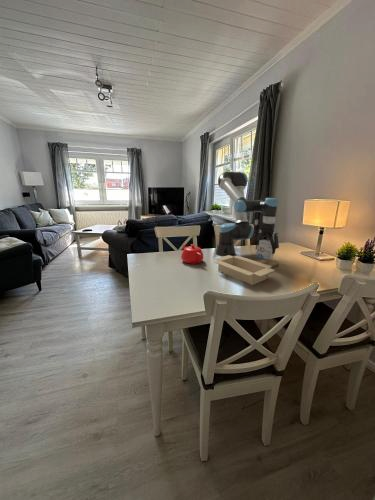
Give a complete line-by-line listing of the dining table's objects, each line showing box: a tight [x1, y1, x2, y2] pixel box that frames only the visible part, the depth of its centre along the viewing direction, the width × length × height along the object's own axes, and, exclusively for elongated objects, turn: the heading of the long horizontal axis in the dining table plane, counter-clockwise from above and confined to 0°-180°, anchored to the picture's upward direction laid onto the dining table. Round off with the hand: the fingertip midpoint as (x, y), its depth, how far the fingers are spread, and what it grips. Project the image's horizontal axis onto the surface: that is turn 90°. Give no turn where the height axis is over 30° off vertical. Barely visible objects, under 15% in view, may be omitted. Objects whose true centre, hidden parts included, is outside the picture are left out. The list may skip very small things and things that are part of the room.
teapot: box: [180, 243, 204, 265], centre depth 146 cm, size 25×16×12 cm, turn 31°
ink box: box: [256, 238, 272, 261], centre depth 140 cm, size 9×5×12 cm, turn 62°
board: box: [253, 258, 279, 269], centre depth 144 cm, size 14×14×1 cm
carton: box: [213, 255, 275, 286], centre depth 126 cm, size 33×22×7 cm, turn 39°
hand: (264, 256), depth 142 cm, fingers closed on ink box, 10 cm apart
